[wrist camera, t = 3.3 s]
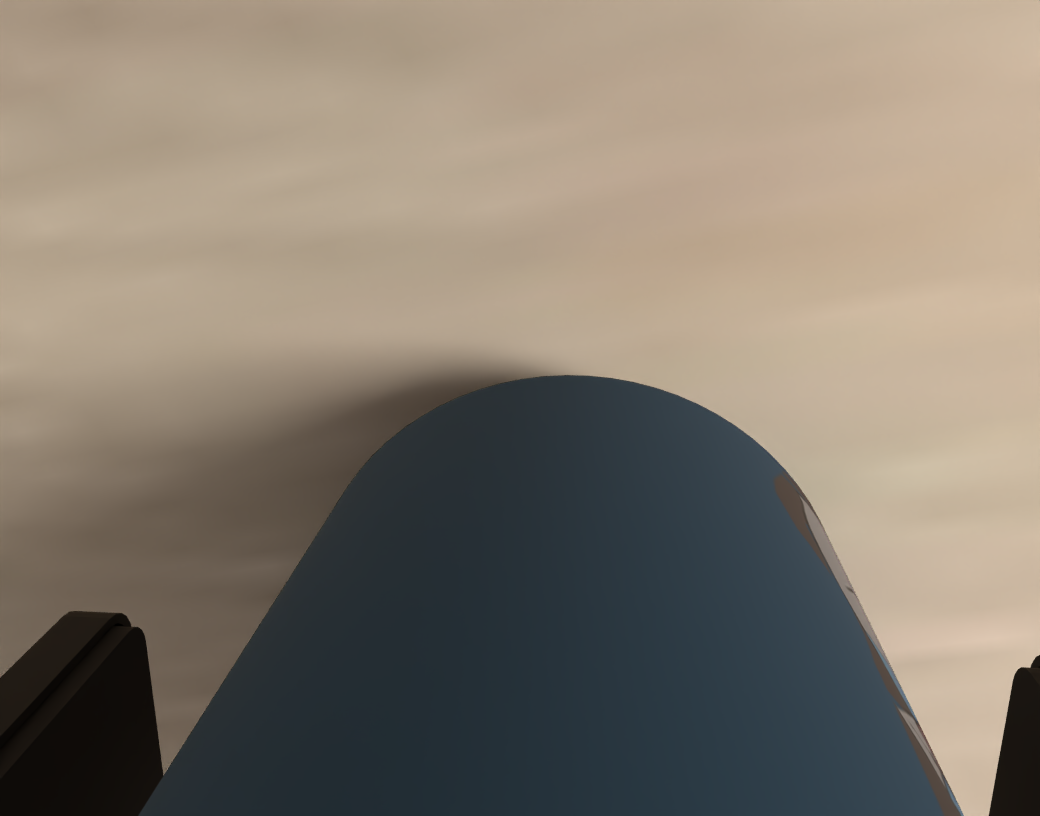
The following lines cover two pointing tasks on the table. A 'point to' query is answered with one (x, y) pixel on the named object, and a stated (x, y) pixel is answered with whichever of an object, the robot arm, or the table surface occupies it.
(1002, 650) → the table surface
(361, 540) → the soda can
